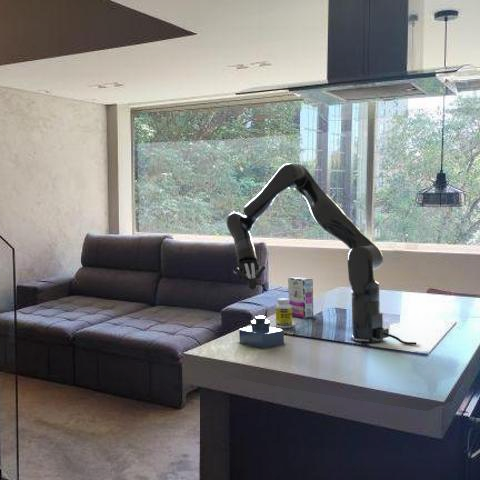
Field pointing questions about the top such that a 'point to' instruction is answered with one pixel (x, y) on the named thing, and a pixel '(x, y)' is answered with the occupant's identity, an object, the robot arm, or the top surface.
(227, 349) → the top surface
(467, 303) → the top surface
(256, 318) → the button
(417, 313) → the top surface
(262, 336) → the blue square base
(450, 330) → the top surface
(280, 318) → the pill bottle
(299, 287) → the candy bar box
